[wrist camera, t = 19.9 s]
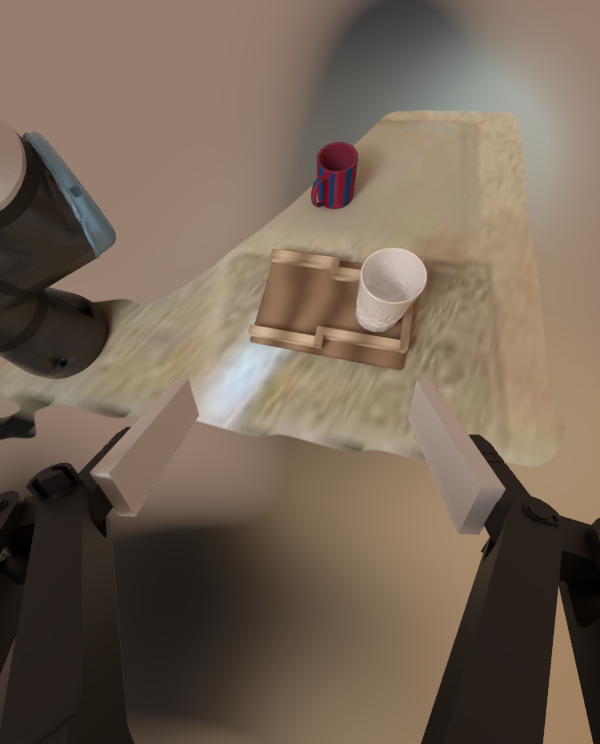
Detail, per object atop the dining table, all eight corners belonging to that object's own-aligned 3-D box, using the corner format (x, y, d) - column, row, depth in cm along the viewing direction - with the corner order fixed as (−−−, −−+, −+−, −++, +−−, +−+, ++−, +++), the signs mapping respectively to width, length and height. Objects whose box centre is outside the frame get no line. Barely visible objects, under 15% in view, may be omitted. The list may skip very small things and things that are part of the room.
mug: (360, 193, 48) (366, 154, 42) (323, 226, 47) (323, 192, 41) (334, 175, 50) (336, 135, 43) (298, 207, 49) (294, 171, 42)
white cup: (344, 326, 41) (351, 290, 31) (362, 285, 42) (373, 239, 33) (392, 343, 39) (415, 312, 30) (409, 300, 41) (435, 258, 31)
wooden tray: (251, 342, 42) (246, 336, 40) (276, 255, 46) (273, 245, 44) (400, 370, 39) (405, 365, 37) (413, 274, 43) (419, 264, 40)
